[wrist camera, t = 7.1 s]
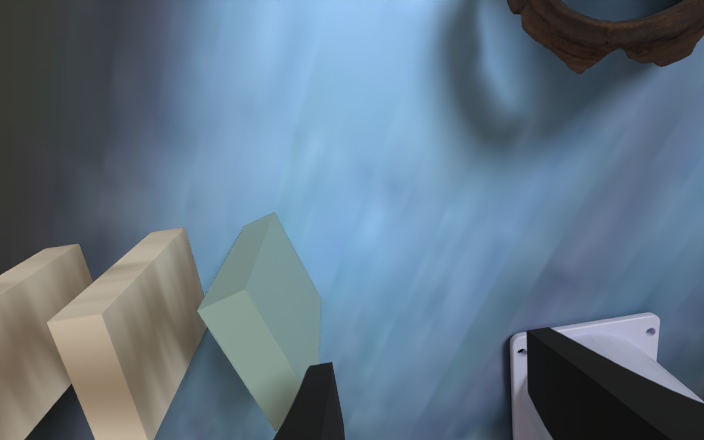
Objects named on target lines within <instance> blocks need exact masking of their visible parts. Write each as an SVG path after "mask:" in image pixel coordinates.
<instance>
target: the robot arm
mask: <svg viewBox="0 0 704 440" xmlns="http://www.w3.org/2000/svg"><path fill="white" fill-rule="evenodd" d="M659 327H660V319H659V318H658V317H657V316H656V315H654V314H653V313H641V314H635V315H629V316H623V317H616V318H610V319H604V320H598V321H592V322H585V323H579V324H573V325H567V326H561V327H554V328H549V327H547V328H540V329H534V330H528V331H526V332H523V333H518V334H515V335H514V336H512V338H511V339H510V364H511V395H512V426H513V440H704V401H702V400H701V399H700V398H699V397H698V396H696V395H695V394H694V393H693V392H692V391H690V390H689V389H688V388H687V387H686V386H684V385H683V384H682V383H681V382H680V381H678V380H677V379H676V378H675V377H674V376H672V375H671V374H670V373H669V372H668V371H666V370H665V369H664V368H663V367H662V366H660V365H659V364H658V363H657V362H656V359H657V348H658V337H659ZM649 328H650V329H649ZM648 329H649V331H647V330H648ZM646 331H647V332H646ZM520 349H523V351H522V352H520V353H517V352H518V351H519V350H520ZM273 440H345V436H344V425H343V418H342V413H341V408H340V402H339V397H338V391H337V386H336V381H335V375H334V370H333V364H332V362H330V363H323V364H317V365H311V366H309V367H308V369H307V370H306V373H305V376H304V378H303V381H302V383H301V386H300V388H299V390H298V393H297V395H296V397H295V399H294V401H293V404H292V406H291V408H290V410H289V412H288V414H287V416H286V418H285V420H284V422H283V424H282V425H281V427H280V429H279V431H278V433H277V434H276V436H275V438H274V439H273Z"/></svg>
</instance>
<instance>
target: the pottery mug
mask: <svg viewBox="0 0 704 440" xmlns="http://www.w3.org/2000/svg"><path fill="white" fill-rule="evenodd" d="M507 2H508V5H509V8H510V10H511V12H512V13H513V14H521V18H522V27H523V29H524V30H525V32H527V33H528V34H529V35H530V36H531V37H532V38H533V39H534V40H536V41H537V42H539V43H540V44H542V45H543V46H544V47H546V48H548V49H549V50H551V51H552V52H553V53H554V54H556V55H557V56H558V57H559V58H560V59H561V60H563V61H564V62H565V63H566V64H567V66H568V67H569V68H571V69H572V70H573V71H575V72H576V73H578V74H582V73H583V72H584V71H585V70H586V69H588V68H590V67H591V66H593V65H594V64H596V63H597V62H599V61H600V60H601V59H602V58H603V57H605V56H606V55H607V54H609V53H611V52H612V51H614V50H616V49H619V48H620V49H624V51H625V52H626V54H627V56H628V57H629V58H630V59H633V60H635V61H637V62H639V63H649V62H653V63H654V64H656V65H657V66H660V67H663V66H667V65H669V64H672V63H674V62H677V61H679V60H681V59H684V58H685V57H687V56H689V55H690V54H691V53H692V52H693V50H694V48H695V46H696V43H697V42H698V41H699V40H700V39H701V38H702V37H703V36H704V0H684V1H682V2H680V3H678V4H676V5H674V6H672V7H670V8H668V9H666V10H663V11H661V12H658V13H656V14H653V15H650V16H646V17H642V18H638V19H632V20H627V21H619V22H611V21H601V20H597V19H592V18H590V17H587V16H584V15H581V14H579V13H577V12H575V11H573V10H572V9H570V8H569V7H568V6H567V5H565V4H564V3H563V2H562V1H561V0H507Z"/></svg>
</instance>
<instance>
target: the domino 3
mask: <svg viewBox="0 0 704 440" xmlns="http://www.w3.org/2000/svg"><path fill="white" fill-rule="evenodd" d="M320 306H321V297H320V295H319V293H318V292H317V290H316V288H315V286H314V284H313V282H312V280H311V279H310V277H309V275H308V273H307V271H306V269H305V267H304V266H303V264H302V262H301V260H300V258H299V256H298V254H297V253H296V251H295V249H294V247H293V245H292V243H291V241H290V240H289V238H288V236H287V234H286V232H285V230H284V228H283V227H282V225H281V223H280V221H279V219H278V217H277V215H276V214H275V212H274V213H272V214H269V215H267V216H265V217H263V218H261V219H258V220H256V221H254V222H252V223H250V224H248V225H245V226H244V228H243V229H242V231H241V233H240V235H239V237H238V238H237V240H236V242H235V244H234V246H233V247H232V249H231V251H230V253H229V255H228V256H227V258H226V260H225V262H224V263H223V265H222V267H221V269H220V271H219V272H218V274H217V276H216V278H215V280H214V281H213V283H212V285H211V287H210V289H209V290H208V292H207V294H206V296H205V297H204V299H203V301H202V303H201V305H200V306H199V308H198V310H197V312H198V313H199V315H200V316H201V318H202V319H203V321H204V322H205V324H206V325H207V327H208V329H209V330H210V332H211V333H212V335H213V336H214V338H215V339H216V341H217V342H218V344H219V345H220V347H221V348H222V350H223V352H224V353H225V355H226V356H227V358H228V359H229V361H230V362H231V364H232V365H233V367H234V368H235V370H236V371H237V373H238V374H239V376H240V378H241V379H242V381H243V382H244V384H245V385H246V387H247V388H248V390H249V391H250V393H251V394H252V396H253V397H254V399H255V401H256V402H257V404H258V405H259V407H260V408H261V410H262V411H263V413H264V414H265V416H266V417H267V419H268V420H269V422H270V423H271V425H272V427H273V428H274V430H275V431H276V430H279V429H280V427H281V425H282V424H283V422H284V420H285V418H286V416H287V414H288V412H289V410H290V408H291V406H292V404H293V401H294V399H295V397H296V395H297V393H298V390H299V388H300V386H301V383H302V381H303V378H304V376H305V373H306V370H307V369H308V367H309V366H311V365H317V364H320Z"/></svg>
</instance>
